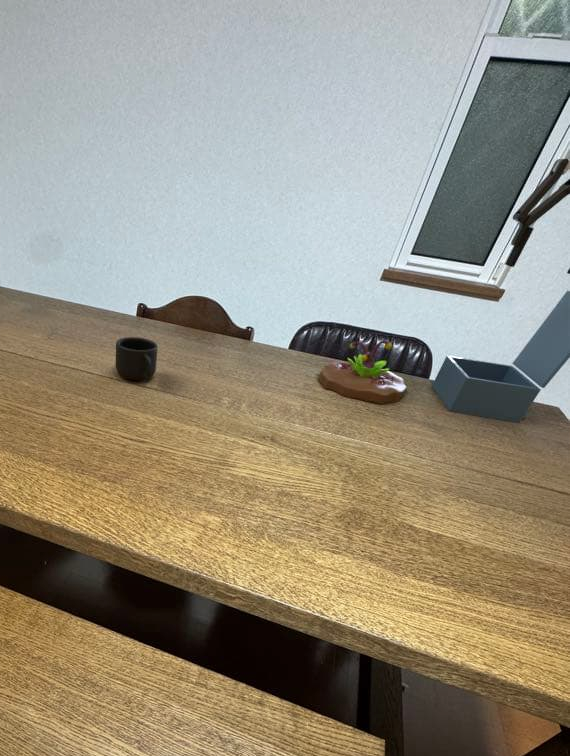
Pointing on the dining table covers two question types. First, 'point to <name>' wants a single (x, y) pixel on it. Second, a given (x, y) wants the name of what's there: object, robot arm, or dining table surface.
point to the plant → (364, 378)
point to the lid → (548, 345)
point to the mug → (136, 358)
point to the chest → (484, 389)
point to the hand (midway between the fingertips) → (540, 270)
